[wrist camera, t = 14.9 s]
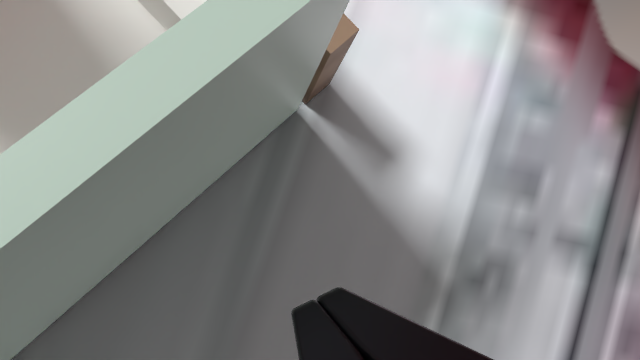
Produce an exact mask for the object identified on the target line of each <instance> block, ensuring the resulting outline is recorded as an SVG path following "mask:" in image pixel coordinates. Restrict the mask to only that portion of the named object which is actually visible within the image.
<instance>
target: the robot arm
mask: <svg viewBox="0 0 640 360" xmlns="http://www.w3.org/2000/svg"><path fill="white" fill-rule="evenodd" d="M292 320H293V326H294V332H295V338H296V344H297V350H298V356H299V360H493V359H491V358H489V357H487V356H485V355H483V354H481V353H478V352H476V351H474V350H472V349H470V348H468V347H466V346H464V345H462V344H460V343H457V342H455V341H453V340H451V339H449V338H447V337H445V336H443V335H441V334H439V333H436V332H434V331H432V330H430V329H428V328H426V327H424V326H422V325H420V324H418V323H415V322H413V321H411V320H409V319H407V318H405V317H403V316H401V315H399V314H397V313H394V312H392V311H390V310H388V309H386V308H384V307H382V306H380V305H378V304H376V303H373V302H371V301H369V300H367V299H365V298H363V297H361V296H359V295H357V294H355V293H352V292H350V291H348V290H346V289H344V288H335V289H333V290H331V291H329V292H327V293H325V294H323V295H321V296H319V297H318V298H317V301H315V300H310V301H308V302H306V303H304V304H302V305H300V306H298V307H296V308H294V309H293V310H292Z"/></svg>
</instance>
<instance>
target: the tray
mask: <svg viewBox="0 0 640 360" xmlns="http://www.w3.org/2000/svg"><path fill="white" fill-rule="evenodd" d="M348 2H349V0H0V360H11V359H12V358H13V357H14V356H15V355H17V354H18V353H19V352H20V351H21V350H22V349H23V348H25V347H26V346H27V345H28V344H29V343H30V342H32V341H33V340H34V339H35V338H36V337H37V336H38V335H40V334H41V333H42V332H43V331H44V330H45V329H46V328H48V327H49V326H50V325H51V324H52V323H53V322H54V321H56V320H57V319H58V318H59V317H60V316H61V315H62V314H64V313H65V312H66V311H67V310H68V309H69V308H70V307H72V306H73V305H74V304H75V303H76V302H77V301H79V300H80V299H81V298H82V297H83V296H84V295H85V294H87V293H88V292H89V291H90V290H91V289H92V288H93V287H95V286H96V285H97V284H98V283H99V282H100V281H101V280H103V279H104V278H105V277H106V276H107V275H108V274H109V273H111V272H112V271H113V270H114V269H115V268H116V267H118V266H119V265H120V264H121V263H122V262H123V261H124V260H126V259H127V258H128V257H129V256H130V255H131V254H132V253H134V252H135V251H136V250H137V249H138V248H139V247H140V246H142V245H143V244H144V243H145V242H146V241H147V240H148V239H150V238H151V237H152V236H153V235H154V234H155V233H156V232H158V231H159V230H160V229H161V228H162V227H163V226H165V225H166V224H167V223H168V222H169V221H170V220H171V219H173V218H174V217H175V216H176V215H177V214H178V213H179V212H181V211H182V210H183V209H184V208H185V207H186V206H187V205H189V204H190V203H191V202H192V201H193V200H194V199H195V198H197V197H198V196H199V195H200V194H201V193H202V192H204V191H205V190H206V189H207V188H208V187H209V186H210V185H212V184H213V183H214V182H215V181H216V180H217V179H218V178H220V177H221V176H222V175H223V174H224V173H225V172H226V171H228V170H229V169H230V168H231V167H232V166H233V165H234V164H236V163H237V162H238V161H239V160H240V159H241V158H243V157H244V156H245V155H246V154H247V153H248V152H249V151H251V150H252V149H253V148H254V147H255V146H256V145H257V144H259V143H260V142H261V141H262V140H263V139H264V138H265V137H267V136H268V135H269V134H270V133H271V132H272V131H273V130H275V129H276V128H277V127H278V126H279V125H280V124H281V123H283V122H284V121H285V120H286V119H287V118H288V117H290V116H291V115H292V114H293V113H294V112H295V111H296V110H298V108H299V106H300V104H301V102H302V100H303V98H304V95H305V93H306V91H307V89H308V87H309V85H310V83H311V81H312V79H313V76H314V74H315V72H316V70H317V68H318V66H319V64H320V62H321V60H322V57H323V55H324V53H325V51H326V49H327V47H328V45H329V43H330V40H331V38H332V36H333V34H334V32H335V30H336V28H337V26H338V24H339V21H340V19H341V17H342V15H343V13H344V11H345V9H346V7H347V4H348Z"/></svg>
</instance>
